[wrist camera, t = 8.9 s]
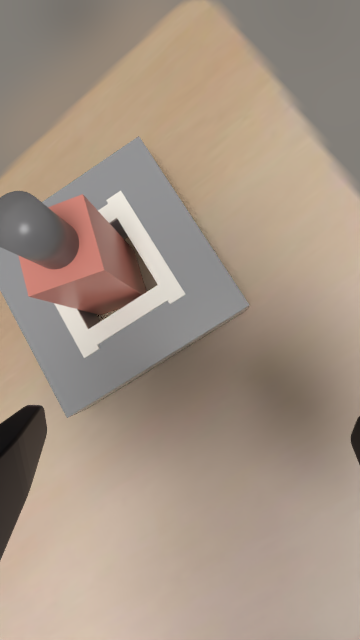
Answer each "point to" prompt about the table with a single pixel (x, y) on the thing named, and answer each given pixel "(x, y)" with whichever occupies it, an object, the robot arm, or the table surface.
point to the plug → (69, 253)
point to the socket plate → (142, 313)
